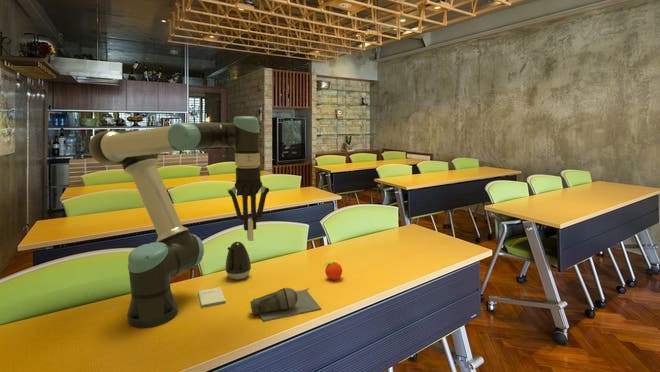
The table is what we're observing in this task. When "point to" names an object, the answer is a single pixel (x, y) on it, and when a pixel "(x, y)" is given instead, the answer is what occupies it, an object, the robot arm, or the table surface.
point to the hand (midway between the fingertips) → (250, 239)
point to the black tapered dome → (237, 261)
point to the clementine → (333, 270)
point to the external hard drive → (211, 297)
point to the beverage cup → (275, 301)
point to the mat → (302, 306)
